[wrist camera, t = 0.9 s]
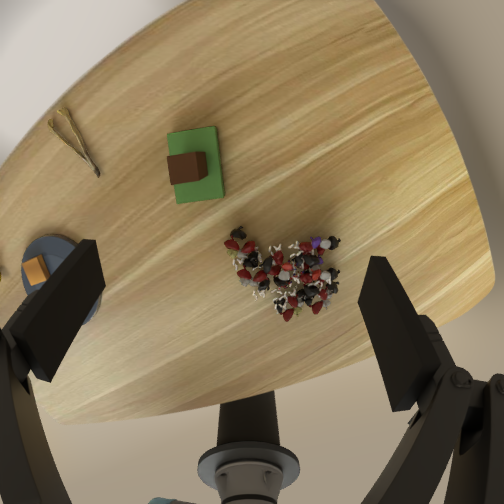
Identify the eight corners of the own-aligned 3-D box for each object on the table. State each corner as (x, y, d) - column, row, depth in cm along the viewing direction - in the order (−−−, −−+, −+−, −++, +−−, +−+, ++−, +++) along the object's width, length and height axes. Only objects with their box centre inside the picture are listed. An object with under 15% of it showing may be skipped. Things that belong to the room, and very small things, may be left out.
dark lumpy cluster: (335, 210, 41) (341, 218, 37) (342, 303, 46) (347, 320, 42) (225, 224, 44) (219, 234, 39) (244, 315, 48) (240, 332, 44)
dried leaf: (104, 171, 38) (109, 170, 40) (59, 103, 35) (66, 105, 36) (83, 191, 38) (89, 189, 40) (40, 123, 35) (47, 124, 37)
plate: (113, 323, 47) (110, 326, 46) (42, 324, 47) (38, 328, 46) (87, 227, 42) (83, 229, 41) (15, 241, 42) (11, 243, 41)
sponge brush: (224, 195, 41) (218, 208, 32) (180, 201, 41) (161, 216, 32) (216, 127, 38) (207, 119, 29) (171, 134, 39) (148, 130, 29)
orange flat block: (51, 276, 43) (46, 280, 42) (35, 282, 43) (31, 286, 42) (41, 254, 42) (36, 257, 40) (26, 260, 42) (21, 263, 41)
